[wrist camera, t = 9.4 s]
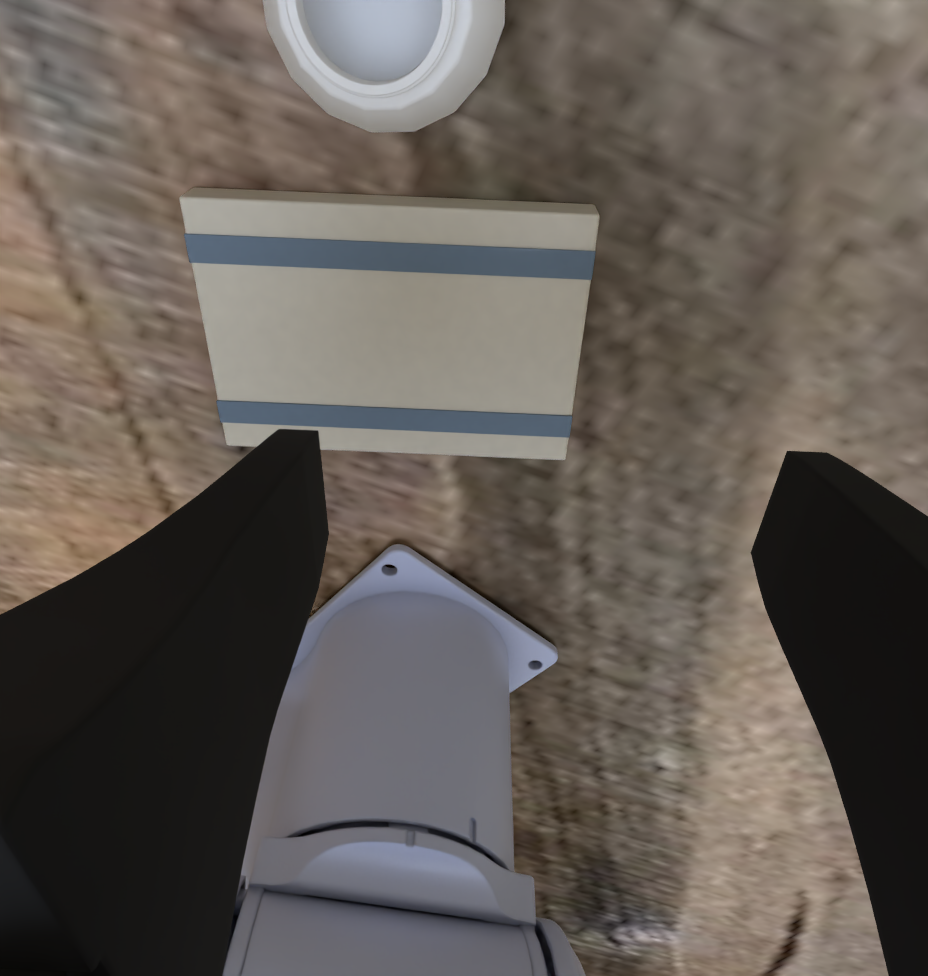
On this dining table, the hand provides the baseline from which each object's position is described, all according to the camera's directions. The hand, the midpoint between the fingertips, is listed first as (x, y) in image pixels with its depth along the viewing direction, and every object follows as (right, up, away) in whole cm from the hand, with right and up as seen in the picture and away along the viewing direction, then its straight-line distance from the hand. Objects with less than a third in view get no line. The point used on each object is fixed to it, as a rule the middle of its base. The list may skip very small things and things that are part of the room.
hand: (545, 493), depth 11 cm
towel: (-3, +4, +8) cm, 10 cm away
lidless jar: (-3, +11, +4) cm, 12 cm away
